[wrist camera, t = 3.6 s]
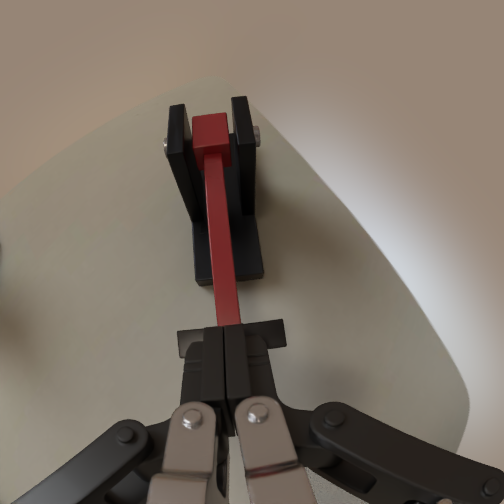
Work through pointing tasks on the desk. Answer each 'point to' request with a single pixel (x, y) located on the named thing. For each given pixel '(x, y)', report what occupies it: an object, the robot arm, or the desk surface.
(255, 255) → the black lever base
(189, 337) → the red lever handle
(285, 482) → the robot arm
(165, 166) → the desk surface
